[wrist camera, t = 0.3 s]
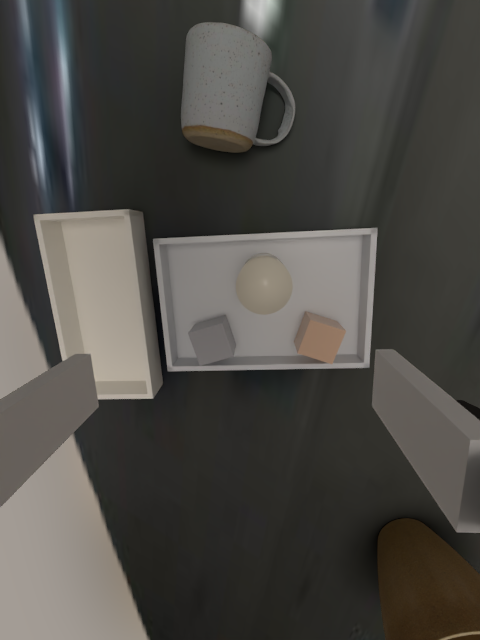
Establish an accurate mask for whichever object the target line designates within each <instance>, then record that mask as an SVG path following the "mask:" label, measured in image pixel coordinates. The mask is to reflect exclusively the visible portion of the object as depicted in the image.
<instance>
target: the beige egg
mask: <svg viewBox="0 0 480 640" xmlns="http://www.w3.org/2000/svg"><path fill="white" fill-rule="evenodd" d="M292 288H293V284H292V278H291V276H290V273H289V272H288V270H287V269H286V267H285V266H284V265H283V263H282V262H281V261H280V260H279V259H278V258H277V257H276V256H274V255H272V254H269V253H258V254H255V255H253V256H251V257H250V258H249V259H248V260H247V261H246V262H245V264H244V266H243V268H242V269H241V271H240V273H239V275H238V277H237V280H236V293H237V296H238V299H239V301H240V302H241V304H242V305H243V306H244V307H245V308H246V309H248V310H249V311H251V312H253V313H256V314H261V315H266V314H272V313H275V312H277V311H279V310H280V309H282V308H283V307H284V306H285V305H286V304H287V302H288V301H289V299H290V297H291V294H292Z"/></svg>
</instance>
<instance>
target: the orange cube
mask: <svg viewBox="0 0 480 640" xmlns="http://www.w3.org/2000/svg"><path fill="white" fill-rule="evenodd" d="M345 333H346V330H345V329H344V328H343V327H342V326H341V325H340V323H339V322H338V321H335V320H332V319H329V318H326V317H323V316H320V315H316V314H313V313H310V312H307V311H305V313H304V316H303V319H302V321H301V324H300V326H299V329H298V332H297V334H296V337H295V340H294V344H295V347H296V350H297V353H298V354H301V355H304V356H307V357H310V358H314V359H317V360H320V361H323V362H326V363H329V364H333V361H334V359H335V357H336V354H337V352H338V349H339V347H340V345H341V342H342V340H343V338H344V335H345Z"/></svg>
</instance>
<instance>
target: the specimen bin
mask: <svg viewBox="0 0 480 640" xmlns="http://www.w3.org/2000/svg"><path fill="white" fill-rule="evenodd" d="M33 217H34V222H35V227H36V232H37V237H38V241H39V246H40V251H41V256H42V261H43V266H44V271H45V276H46V281H47V286H48V291H49V296H50V301H51V306H52V311H53V316H54V321H55V326H56V331H57V336H58V341H59V346H60V351H61V356H62V361H64V360H66V359H68V358H69V357H71V356H72V355H74V354H91V360H92V366H93V372H94V379H95V385H96V391H97V398H98V399H153V398H154V396H155V395H156V393H157V392H158V390H159V389H160V387H161V386H162V384H163V378H162V370H161V361H160V353H159V344H158V336H157V327H156V319H155V310H154V302H153V294H152V285H151V277H150V268H149V260H148V251H147V243H146V234H145V226H144V217H143V212H140V211H135V210H130V209H124V210H106V211H88V212H71V213H53V214H35V215H33Z"/></svg>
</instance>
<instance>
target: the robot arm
mask: <svg viewBox="0 0 480 640" xmlns="http://www.w3.org/2000/svg"><path fill="white" fill-rule="evenodd" d="M98 407H99V404H98V398H97V391H96V385H95V379H94V372H93V366H92V360H91V354H74V355H72V356H71V357H69V358H68V359H66V360H64V361H63V362H61V363H59V364H58V365H56V366H54V367H53V368H51V369H49V370H48V371H46V372H45V373H43V374H41V375H40V376H38V377H36V378H35V379H33V380H31V381H30V382H28V383H26V384H25V385H23V386H22V387H20V388H18V389H17V390H15V391H13V392H12V393H10V394H9V395H7V396H5V397H3V398H2V399H0V507H1V506H2V505H3V504H4V503H5V502H6V501H7V500H8V499H9V498H10V497H11V496H12V495H13V494H14V493H15V492H16V491H17V490H18V489H19V488H20V487H21V486H22V485H23V484H24V482H26V480H27V479H28V478H29V477H30V476H31V475H32V474H33V473H34V472H35V471H36V470H37V469H38V468H39V467H40V466H41V465H42V464H43V463H44V462H45V461H46V460H47V459H48V458H49V457H50V456H51V455H52V454H53V453H54V452H55V451H56V450H57V449H58V448H59V447H60V446H61V445H62V443H64V442H65V441H66V440H67V439H68V438H69V437H70V436H71V435H72V434H73V432H74V431H75V430H76V429H77V428H78V427H79V426H80V425H81V424H82V423H83V422H84V421H85V420H86V419H87V418H88V417H89V416H90V415H91V414H92V413H93V412H94V411H95V410H96V409H97V408H98ZM372 407H373V408H374V410H375V411H376V413H377V414H378V416H379V417H380V419H381V420H382V422H383V423H384V425H385V426H386V428H387V429H388V431H389V432H390V434H391V435H392V437H393V438H394V440H395V441H396V443H397V444H398V446H399V447H400V449H401V450H402V452H403V453H404V455H405V456H406V458H407V459H408V461H409V462H410V464H411V465H412V467H413V468H414V470H415V471H416V473H417V474H418V476H419V477H420V479H421V480H422V482H423V483H424V485H425V486H426V488H427V489H428V490H429V492H430V493H431V495H432V496H433V498H434V499H435V501H436V502H437V504H438V505H439V507H440V508H441V510H442V511H443V513H444V514H445V516H446V517H447V519H448V520H449V522H450V523H451V525H452V526H453V528H454V529H455V531H456V532H467V533H480V409H479V408H478V407H476V406H473V405H471V404H469V403H467V402H465V401H463V400H454V399H453V398H452V397H451V396H450V395H448V394H447V393H446V392H445V391H443V390H442V389H441V388H440V387H439V386H437V385H436V384H435V383H434V382H433V381H431V380H430V379H429V378H428V377H426V376H425V375H424V374H423V373H422V372H420V371H419V370H418V369H417V368H416V367H414V366H413V365H412V364H411V363H409V362H408V361H407V360H406V359H405V358H403V357H402V356H401V355H400V354H399V353H397V352H396V351H395V350H394V349H383V350H376V352H375V367H374V382H373V397H372Z"/></svg>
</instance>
